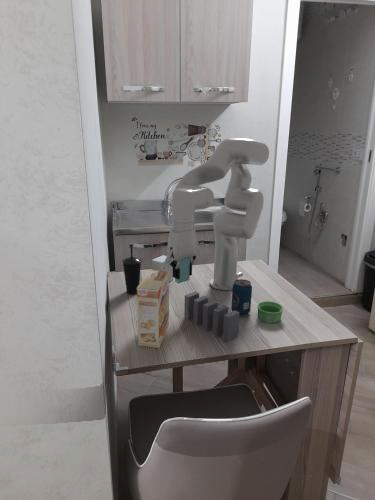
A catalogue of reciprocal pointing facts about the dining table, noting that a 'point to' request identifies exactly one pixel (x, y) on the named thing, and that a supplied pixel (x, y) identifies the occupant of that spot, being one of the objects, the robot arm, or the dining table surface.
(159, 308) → the coffeecake box
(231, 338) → the tile
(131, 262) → the drinking cup
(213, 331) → the tile
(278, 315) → the ramekin
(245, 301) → the soda can
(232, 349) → the dining table surface
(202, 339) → the dining table surface
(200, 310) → the tile
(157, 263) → the small box
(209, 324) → the tile
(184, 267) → the teal tile
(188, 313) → the tile
